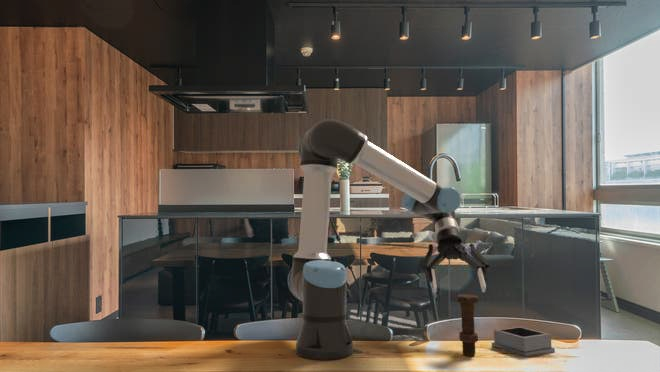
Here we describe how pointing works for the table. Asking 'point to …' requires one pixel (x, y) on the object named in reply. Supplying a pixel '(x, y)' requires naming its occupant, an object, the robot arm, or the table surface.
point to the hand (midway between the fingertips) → (459, 289)
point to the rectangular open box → (523, 341)
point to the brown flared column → (468, 323)
